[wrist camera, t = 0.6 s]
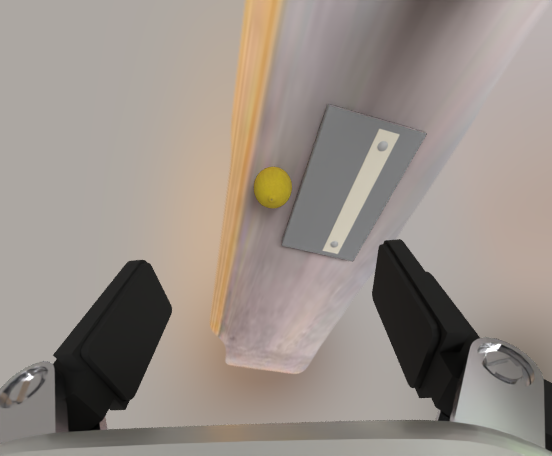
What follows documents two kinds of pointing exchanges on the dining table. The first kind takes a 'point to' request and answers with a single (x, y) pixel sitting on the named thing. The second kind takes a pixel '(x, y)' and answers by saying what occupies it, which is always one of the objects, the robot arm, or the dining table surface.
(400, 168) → the panel
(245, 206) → the dining table surface
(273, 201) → the lemon
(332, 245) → the strip
